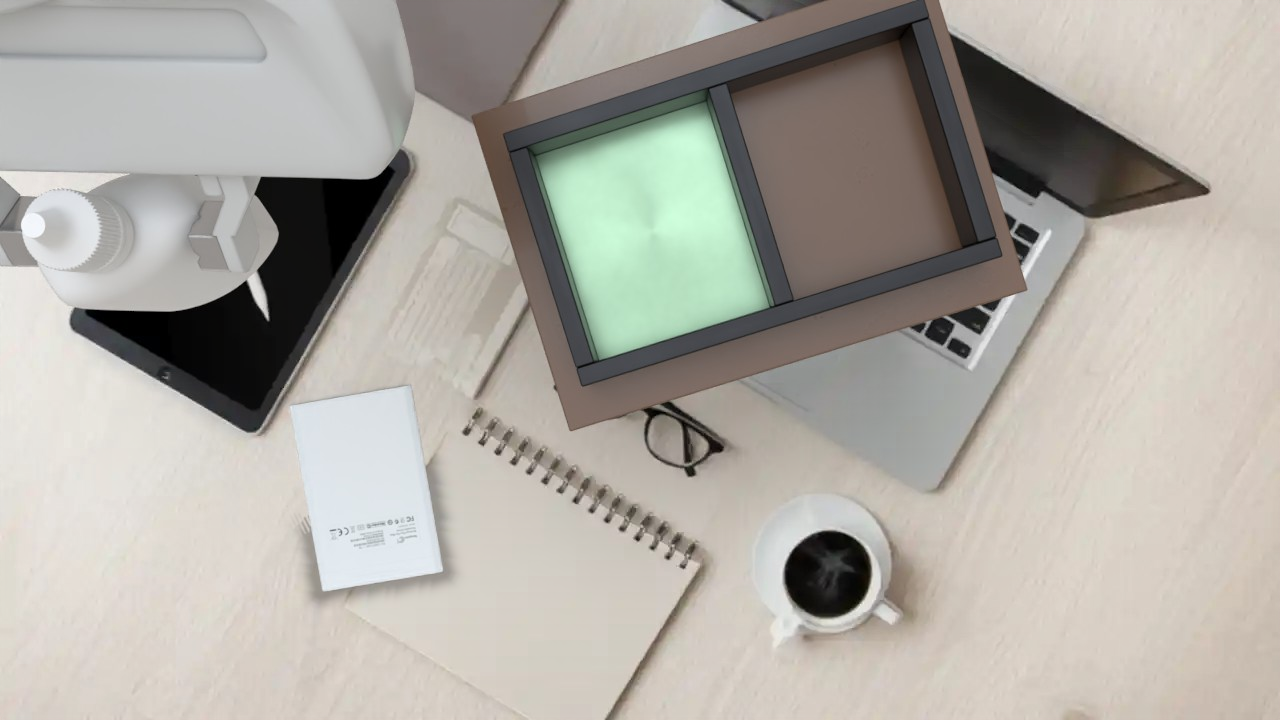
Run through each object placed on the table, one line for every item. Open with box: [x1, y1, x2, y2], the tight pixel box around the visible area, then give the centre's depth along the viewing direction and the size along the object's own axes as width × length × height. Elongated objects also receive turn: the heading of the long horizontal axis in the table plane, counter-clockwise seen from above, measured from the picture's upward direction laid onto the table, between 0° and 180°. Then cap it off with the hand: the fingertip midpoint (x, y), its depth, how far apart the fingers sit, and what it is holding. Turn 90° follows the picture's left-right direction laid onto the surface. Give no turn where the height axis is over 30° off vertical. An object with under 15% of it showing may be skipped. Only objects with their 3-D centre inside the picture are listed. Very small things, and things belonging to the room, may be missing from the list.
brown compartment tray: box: [471, 0, 1028, 432], centre depth 45 cm, size 14×20×4 cm
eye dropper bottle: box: [21, 174, 280, 312], centre depth 37 cm, size 4×6×12 cm
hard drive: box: [288, 384, 444, 592], centre depth 72 cm, size 2×8×12 cm
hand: (134, 257), depth 36 cm, fingers closed on eye dropper bottle, 5 cm apart
